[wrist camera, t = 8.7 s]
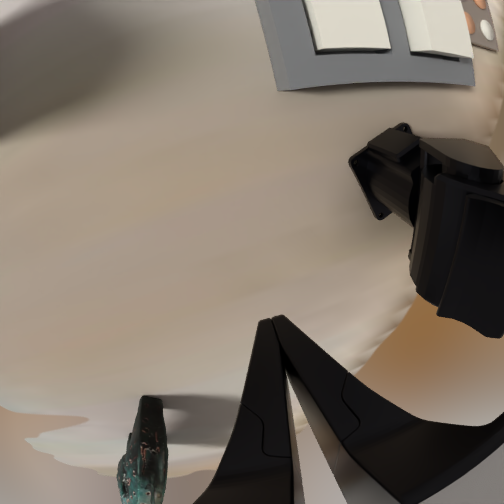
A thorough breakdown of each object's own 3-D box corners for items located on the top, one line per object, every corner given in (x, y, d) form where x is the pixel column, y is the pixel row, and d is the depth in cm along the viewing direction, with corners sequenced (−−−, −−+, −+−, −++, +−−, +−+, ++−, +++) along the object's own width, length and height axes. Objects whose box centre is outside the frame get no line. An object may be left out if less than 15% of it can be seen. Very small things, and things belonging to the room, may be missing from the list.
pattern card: (492, 50, 15) (500, 51, 14) (450, 38, 15) (460, 38, 14) (476, -11, 11) (484, -12, 10) (430, -31, 11) (438, -34, 10)
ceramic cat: (151, 445, 40) (156, 542, 24) (117, 438, 38) (116, 537, 21) (175, 398, 33) (186, 544, 16) (126, 388, 30) (121, 538, 13)
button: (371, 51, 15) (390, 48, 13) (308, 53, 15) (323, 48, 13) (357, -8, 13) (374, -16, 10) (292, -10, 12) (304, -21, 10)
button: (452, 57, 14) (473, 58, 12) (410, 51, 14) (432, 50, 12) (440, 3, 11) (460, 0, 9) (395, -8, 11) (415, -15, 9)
